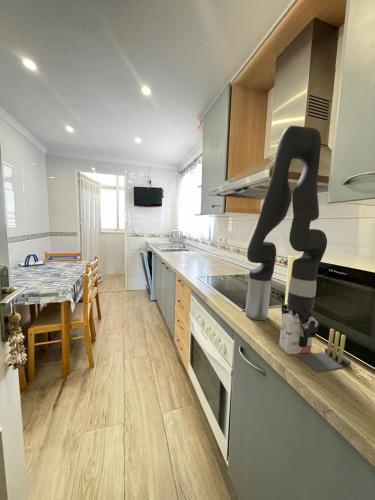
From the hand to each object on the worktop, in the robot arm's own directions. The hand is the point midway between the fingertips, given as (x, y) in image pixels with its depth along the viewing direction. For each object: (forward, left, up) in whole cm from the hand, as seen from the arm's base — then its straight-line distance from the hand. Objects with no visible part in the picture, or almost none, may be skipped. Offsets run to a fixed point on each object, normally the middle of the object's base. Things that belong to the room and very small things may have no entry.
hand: (295, 341), depth 69 cm
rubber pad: (+7, +3, -3) cm, 8 cm away
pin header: (+7, +10, -3) cm, 12 cm away
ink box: (0, 0, -3) cm, 3 cm away
